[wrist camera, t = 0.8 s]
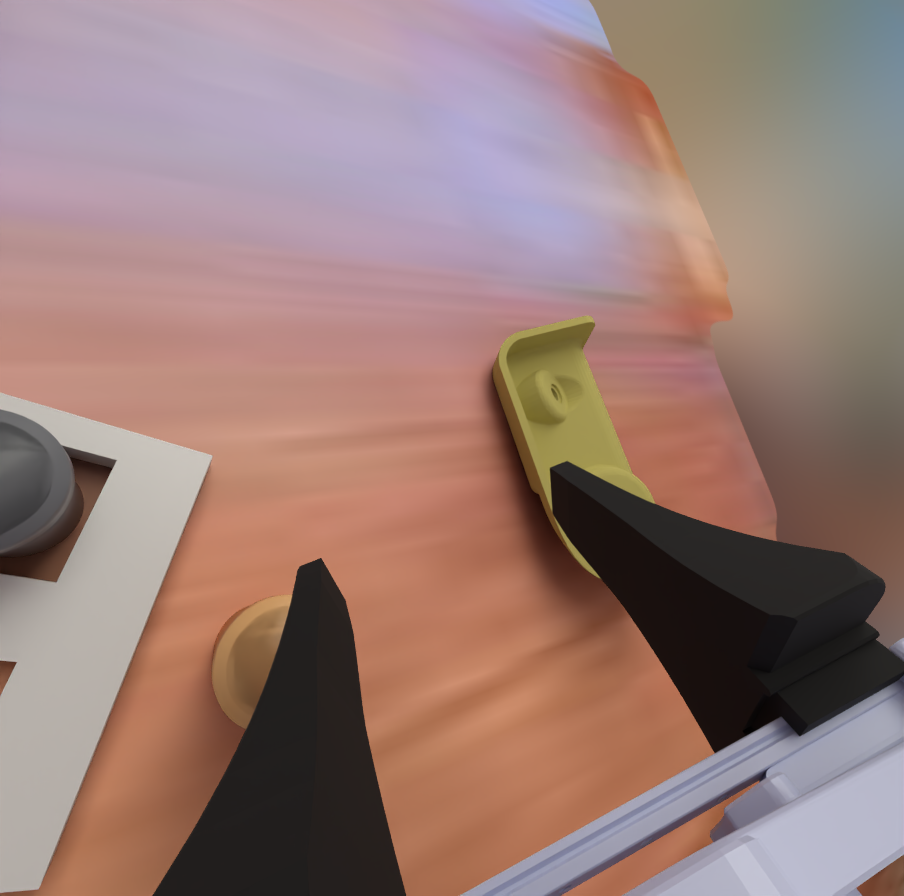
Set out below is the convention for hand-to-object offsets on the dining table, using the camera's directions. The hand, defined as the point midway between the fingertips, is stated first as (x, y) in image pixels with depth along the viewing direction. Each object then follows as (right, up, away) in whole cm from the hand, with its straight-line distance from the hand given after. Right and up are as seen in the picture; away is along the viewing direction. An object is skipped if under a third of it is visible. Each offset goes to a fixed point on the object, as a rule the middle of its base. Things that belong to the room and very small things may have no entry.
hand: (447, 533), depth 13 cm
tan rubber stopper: (-9, -7, +9) cm, 15 cm away
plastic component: (+9, +2, +24) cm, 25 cm away
